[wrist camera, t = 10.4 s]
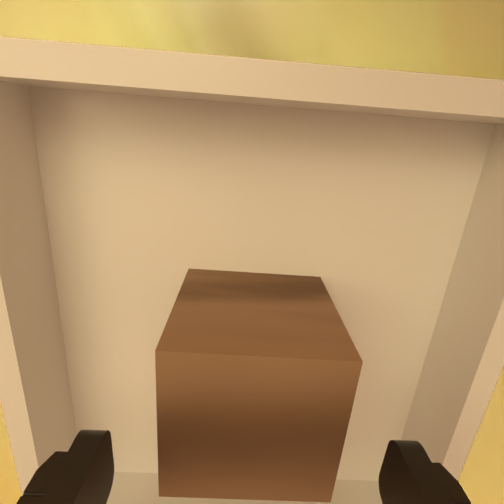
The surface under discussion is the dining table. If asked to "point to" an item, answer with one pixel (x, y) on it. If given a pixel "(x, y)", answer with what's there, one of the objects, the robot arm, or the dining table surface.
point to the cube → (253, 388)
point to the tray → (244, 239)
